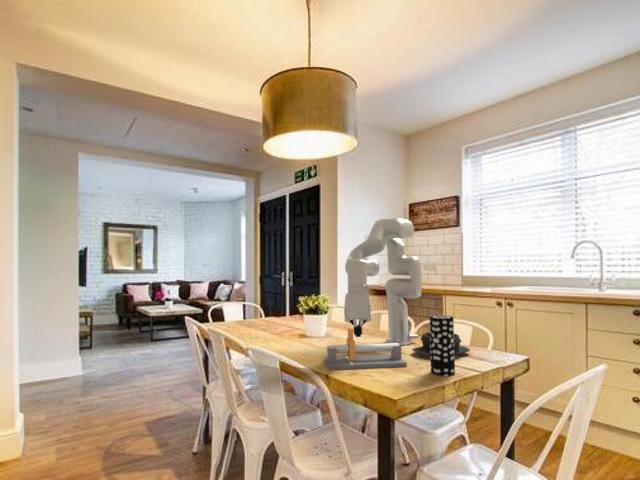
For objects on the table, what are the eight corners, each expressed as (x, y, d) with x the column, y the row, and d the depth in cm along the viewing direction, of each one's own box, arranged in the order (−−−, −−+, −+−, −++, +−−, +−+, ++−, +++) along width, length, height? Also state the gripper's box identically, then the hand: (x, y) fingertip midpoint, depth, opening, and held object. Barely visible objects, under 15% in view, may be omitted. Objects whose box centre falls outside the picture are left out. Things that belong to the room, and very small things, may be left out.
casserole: (453, 347, 182) (452, 329, 182) (480, 357, 164) (479, 336, 165) (404, 351, 175) (404, 332, 175) (427, 362, 157) (426, 340, 158)
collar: (351, 355, 159) (351, 327, 159) (355, 359, 152) (354, 330, 152) (346, 355, 159) (346, 328, 159) (350, 359, 152) (349, 331, 152)
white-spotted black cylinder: (428, 369, 146) (427, 315, 147) (451, 369, 146) (449, 315, 147) (434, 376, 138) (432, 318, 139) (458, 376, 137) (456, 318, 138)
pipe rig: (395, 357, 164) (395, 339, 165) (406, 366, 150) (406, 346, 151) (324, 360, 161) (324, 341, 161) (329, 369, 147) (328, 349, 148)
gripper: (373, 289, 162) (374, 334, 161) (337, 289, 160) (337, 335, 159) (378, 290, 154) (378, 337, 153) (340, 291, 152) (341, 339, 151)
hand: (358, 336), depth 156 cm, fingers closed
